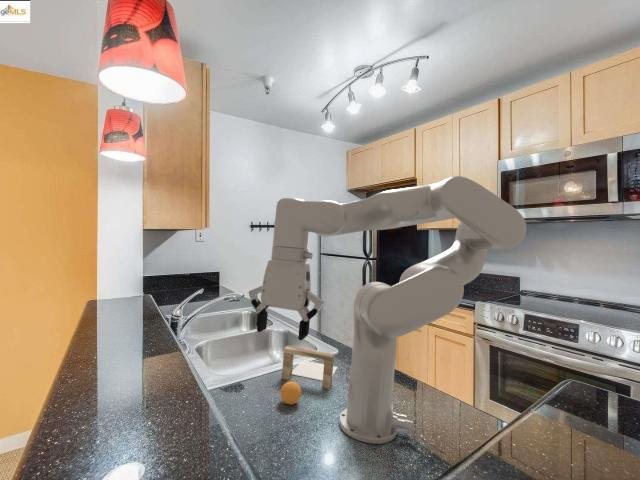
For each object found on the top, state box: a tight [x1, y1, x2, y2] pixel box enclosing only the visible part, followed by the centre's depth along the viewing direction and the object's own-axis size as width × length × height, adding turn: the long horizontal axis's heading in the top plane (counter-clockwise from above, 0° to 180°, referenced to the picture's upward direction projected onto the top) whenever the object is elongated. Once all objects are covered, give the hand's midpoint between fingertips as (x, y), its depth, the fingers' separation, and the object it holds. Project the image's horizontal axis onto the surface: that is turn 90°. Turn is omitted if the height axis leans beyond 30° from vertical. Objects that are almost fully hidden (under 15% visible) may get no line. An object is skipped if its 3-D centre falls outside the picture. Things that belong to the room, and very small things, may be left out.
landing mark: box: [292, 359, 339, 382], centre depth 95 cm, size 12×12×1 cm
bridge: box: [281, 344, 335, 390], centre depth 87 cm, size 3×14×9 cm, turn 75°
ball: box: [280, 380, 302, 405], centre depth 75 cm, size 5×5×5 cm
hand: (281, 334), depth 67 cm, fingers open, 9 cm apart
